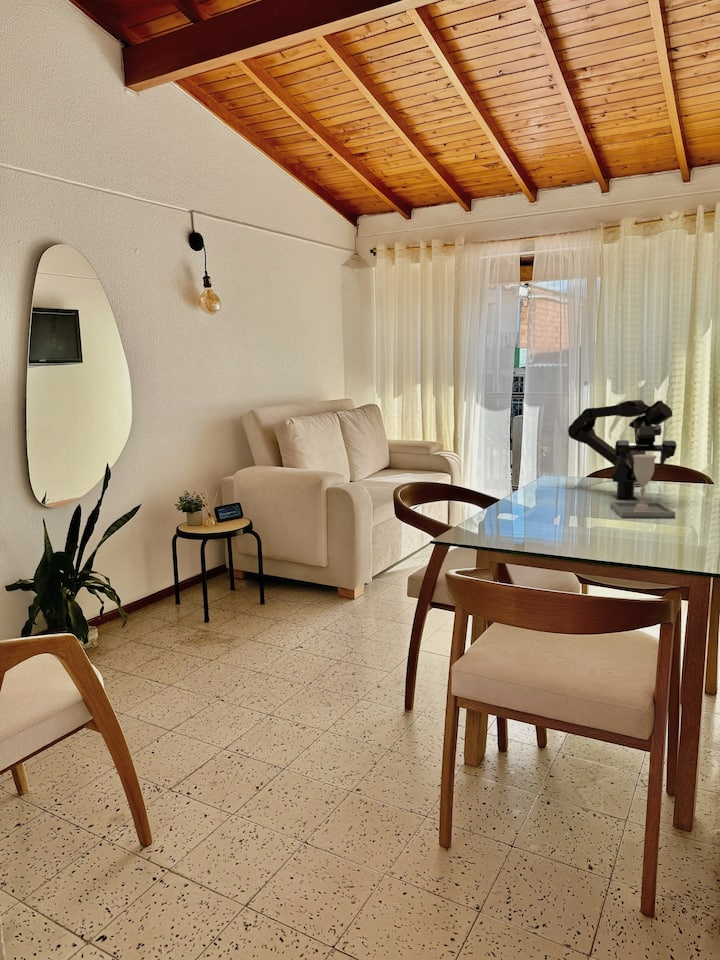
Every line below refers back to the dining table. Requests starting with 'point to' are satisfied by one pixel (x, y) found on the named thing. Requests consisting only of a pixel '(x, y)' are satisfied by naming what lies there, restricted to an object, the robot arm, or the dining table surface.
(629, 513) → the tray
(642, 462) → the chalice
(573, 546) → the dining table surface
